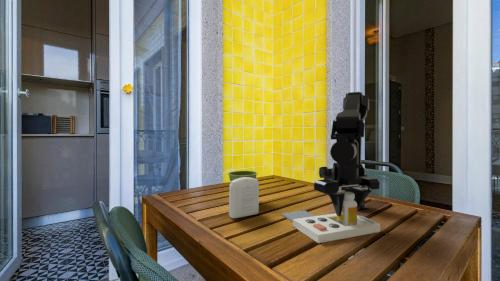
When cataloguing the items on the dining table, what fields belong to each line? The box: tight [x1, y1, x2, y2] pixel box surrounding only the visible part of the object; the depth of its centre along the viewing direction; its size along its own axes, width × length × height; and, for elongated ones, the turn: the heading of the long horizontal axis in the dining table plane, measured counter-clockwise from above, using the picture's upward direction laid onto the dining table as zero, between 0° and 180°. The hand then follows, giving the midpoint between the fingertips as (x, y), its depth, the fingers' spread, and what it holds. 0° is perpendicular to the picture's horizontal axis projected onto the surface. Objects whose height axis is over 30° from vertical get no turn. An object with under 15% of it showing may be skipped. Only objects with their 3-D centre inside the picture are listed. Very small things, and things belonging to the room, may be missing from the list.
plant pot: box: [227, 170, 258, 182], centre depth 98 cm, size 12×12×11 cm
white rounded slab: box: [228, 177, 260, 219], centre depth 81 cm, size 10×4×12 cm, turn 123°
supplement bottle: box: [337, 191, 358, 226], centre depth 71 cm, size 5×5×10 cm
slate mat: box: [280, 210, 315, 223], centre depth 79 cm, size 9×9×1 cm
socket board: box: [292, 212, 381, 244], centre depth 70 cm, size 20×12×3 cm, turn 110°
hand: (346, 214), depth 71 cm, fingers closed on supplement bottle, 5 cm apart
